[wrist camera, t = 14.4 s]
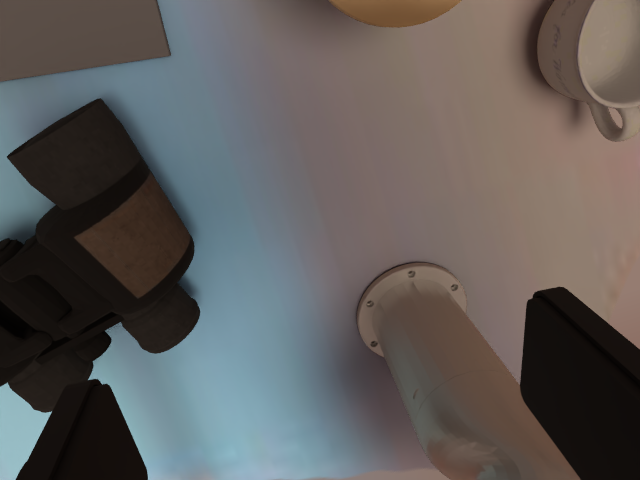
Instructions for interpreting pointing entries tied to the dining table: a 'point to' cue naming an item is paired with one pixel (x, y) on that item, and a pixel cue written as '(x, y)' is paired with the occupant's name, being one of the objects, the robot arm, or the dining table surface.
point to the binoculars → (89, 258)
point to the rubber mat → (77, 35)
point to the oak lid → (394, 11)
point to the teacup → (595, 59)
